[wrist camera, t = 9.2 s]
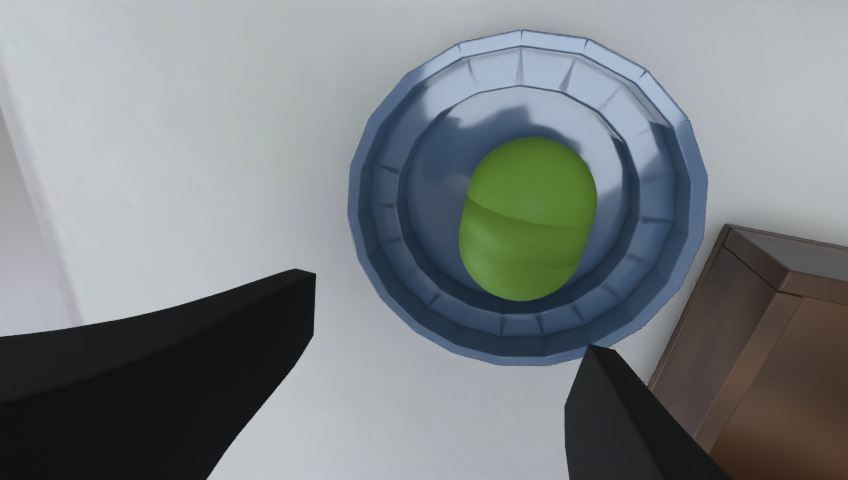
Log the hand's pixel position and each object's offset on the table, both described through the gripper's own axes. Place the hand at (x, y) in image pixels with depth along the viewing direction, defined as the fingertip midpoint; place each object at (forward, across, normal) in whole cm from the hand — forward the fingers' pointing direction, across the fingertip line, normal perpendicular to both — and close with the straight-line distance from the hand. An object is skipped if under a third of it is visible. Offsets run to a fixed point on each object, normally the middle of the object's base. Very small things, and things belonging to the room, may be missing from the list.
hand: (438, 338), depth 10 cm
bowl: (+10, -1, -1) cm, 10 cm away
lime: (+7, -2, -2) cm, 7 cm away
